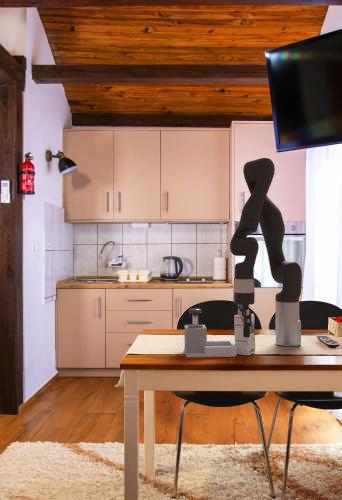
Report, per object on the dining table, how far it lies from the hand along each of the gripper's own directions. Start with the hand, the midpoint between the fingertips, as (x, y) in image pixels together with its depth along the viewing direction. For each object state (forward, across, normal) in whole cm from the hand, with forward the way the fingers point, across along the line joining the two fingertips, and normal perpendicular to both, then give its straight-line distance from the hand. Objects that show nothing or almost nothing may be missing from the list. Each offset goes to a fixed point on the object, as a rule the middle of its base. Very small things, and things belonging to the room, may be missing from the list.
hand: (244, 335), depth 175 cm
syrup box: (+7, 0, 0) cm, 7 cm away
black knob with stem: (-1, 0, +18) cm, 18 cm away
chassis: (+7, 0, +13) cm, 14 cm away
